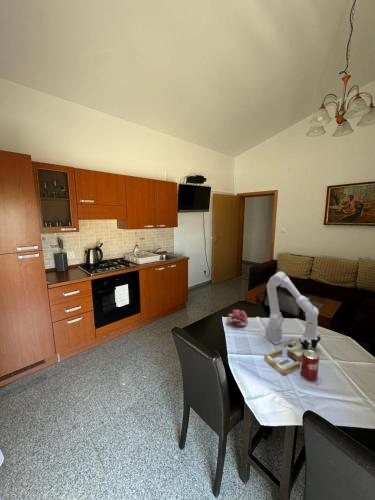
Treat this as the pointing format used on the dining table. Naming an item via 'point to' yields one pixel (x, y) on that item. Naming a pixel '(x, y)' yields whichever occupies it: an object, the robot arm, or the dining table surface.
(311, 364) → the soda can
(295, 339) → the dining table surface
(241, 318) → the flower
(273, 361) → the bay
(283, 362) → the dock strip
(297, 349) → the open box
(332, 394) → the dining table surface
